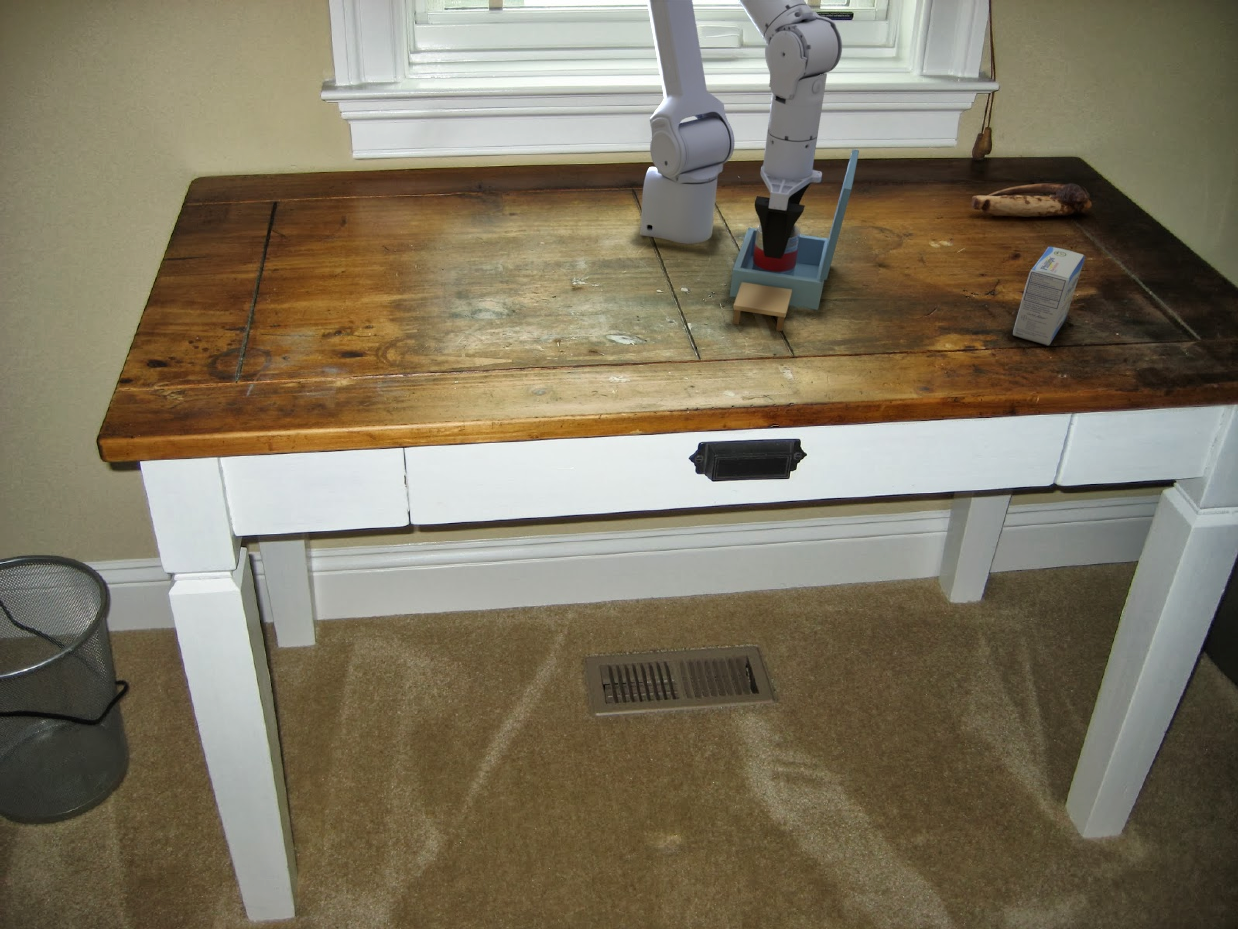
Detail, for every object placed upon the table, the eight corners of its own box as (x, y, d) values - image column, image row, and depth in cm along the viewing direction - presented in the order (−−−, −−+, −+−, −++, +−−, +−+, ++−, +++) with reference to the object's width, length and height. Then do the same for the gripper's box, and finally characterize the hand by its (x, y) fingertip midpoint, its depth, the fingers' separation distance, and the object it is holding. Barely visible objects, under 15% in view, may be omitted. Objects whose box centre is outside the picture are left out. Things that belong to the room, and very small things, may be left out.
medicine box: (1048, 347, 124) (1070, 279, 119) (1010, 336, 125) (1030, 268, 120) (1065, 320, 129) (1087, 254, 124) (1028, 309, 131) (1048, 244, 126)
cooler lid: (844, 187, 118) (851, 189, 118) (852, 148, 128) (859, 150, 128) (819, 278, 125) (826, 280, 125) (829, 234, 135) (835, 236, 135)
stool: (730, 329, 124) (733, 304, 122) (738, 305, 129) (741, 281, 127) (782, 337, 123) (786, 312, 121) (788, 313, 128) (792, 289, 126)
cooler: (728, 301, 129) (732, 269, 127) (744, 257, 139) (748, 226, 137) (816, 315, 128) (822, 282, 125) (826, 269, 137) (832, 238, 135)
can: (748, 284, 132) (754, 235, 128) (754, 266, 136) (760, 217, 132) (790, 290, 131) (798, 241, 127) (795, 272, 135) (803, 223, 131)
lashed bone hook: (1065, 200, 161) (951, 198, 158) (1075, 169, 158) (959, 167, 155) (1096, 224, 153) (977, 223, 150) (1106, 192, 150) (985, 190, 148)
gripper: (821, 159, 116) (803, 273, 124) (833, 116, 127) (816, 224, 135) (756, 151, 117) (743, 265, 125) (774, 109, 128) (760, 216, 137)
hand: (777, 243), depth 130 cm, fingers open, 7 cm apart
